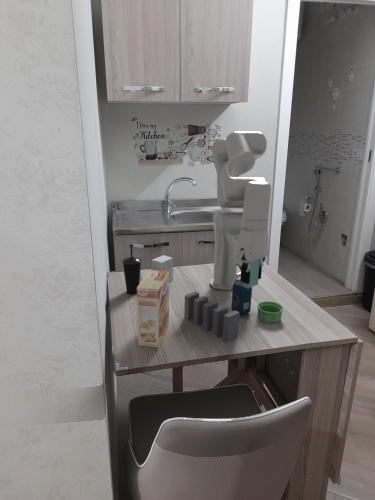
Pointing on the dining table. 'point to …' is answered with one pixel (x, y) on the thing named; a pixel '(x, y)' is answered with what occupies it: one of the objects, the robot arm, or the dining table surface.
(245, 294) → the soda can
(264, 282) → the dining table surface
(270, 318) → the ramekin
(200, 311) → the tile
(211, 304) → the tile
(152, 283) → the coffeecake box
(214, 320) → the tile
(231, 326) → the tile
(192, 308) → the tile
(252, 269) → the teal tile
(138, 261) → the drinking cup
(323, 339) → the dining table surface
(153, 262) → the small box
